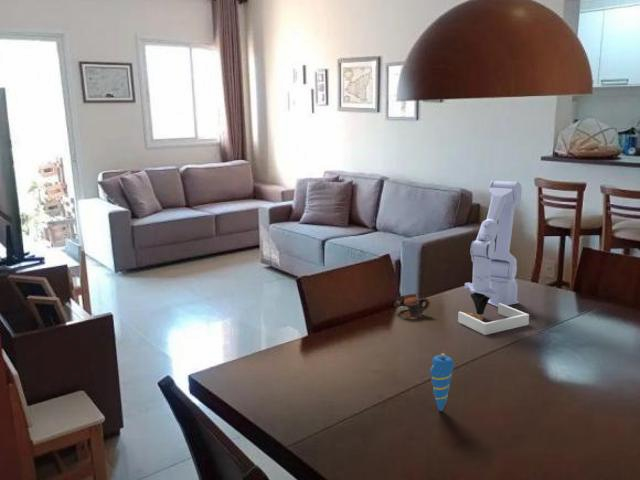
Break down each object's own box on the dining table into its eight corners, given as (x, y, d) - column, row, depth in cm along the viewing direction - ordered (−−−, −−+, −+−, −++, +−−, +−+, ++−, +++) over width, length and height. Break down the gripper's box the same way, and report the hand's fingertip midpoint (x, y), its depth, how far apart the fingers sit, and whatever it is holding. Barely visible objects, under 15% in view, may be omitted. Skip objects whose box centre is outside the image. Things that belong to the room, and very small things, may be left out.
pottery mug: (396, 320, 192) (391, 297, 195) (400, 323, 201) (395, 301, 204) (431, 313, 190) (426, 289, 192) (433, 316, 199) (428, 293, 201)
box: (500, 312, 196) (500, 303, 195) (528, 324, 184) (529, 314, 184) (458, 321, 188) (458, 311, 188) (484, 335, 177) (485, 324, 176)
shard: (478, 330, 181) (478, 325, 181) (454, 327, 184) (454, 322, 184) (483, 319, 191) (484, 314, 190) (460, 316, 194) (460, 311, 193)
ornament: (436, 403, 137) (437, 344, 133) (456, 409, 133) (458, 350, 130) (425, 412, 133) (426, 352, 129) (446, 419, 129) (447, 357, 126)
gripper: (457, 272, 194) (456, 309, 197) (487, 283, 181) (485, 323, 184) (474, 269, 196) (473, 306, 200) (504, 279, 184) (502, 319, 187)
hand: (480, 314), depth 192 cm, fingers closed, pressing on shard
